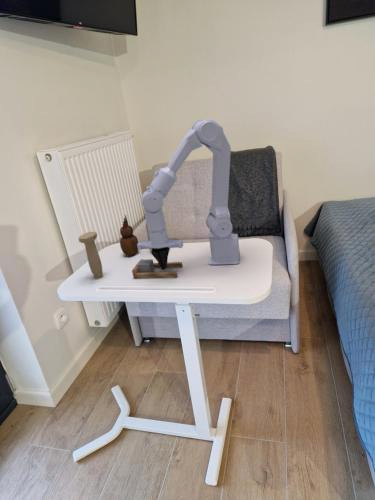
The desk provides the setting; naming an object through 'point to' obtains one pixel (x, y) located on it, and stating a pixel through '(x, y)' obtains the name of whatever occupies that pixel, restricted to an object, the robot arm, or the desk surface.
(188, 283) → the desk surface
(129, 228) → the wooden figurine
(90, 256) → the handle
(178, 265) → the channel
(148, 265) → the grey cube
